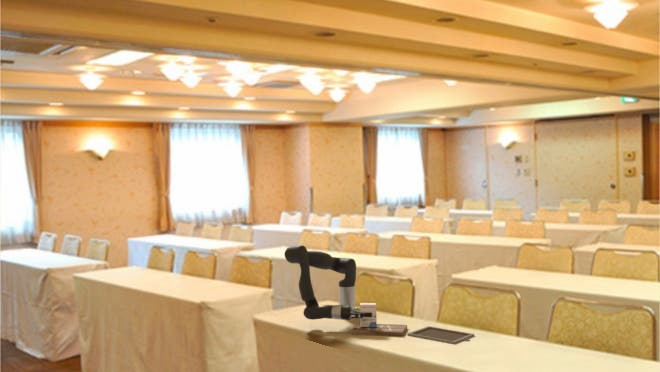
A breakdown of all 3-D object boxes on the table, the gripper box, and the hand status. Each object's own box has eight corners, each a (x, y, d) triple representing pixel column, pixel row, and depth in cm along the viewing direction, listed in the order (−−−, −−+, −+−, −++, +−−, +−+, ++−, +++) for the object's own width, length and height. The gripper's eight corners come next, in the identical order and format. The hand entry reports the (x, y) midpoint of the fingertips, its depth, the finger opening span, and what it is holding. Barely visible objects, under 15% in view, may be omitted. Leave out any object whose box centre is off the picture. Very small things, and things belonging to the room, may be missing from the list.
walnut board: (358, 326, 353) (358, 322, 353) (407, 328, 346) (406, 324, 346) (351, 334, 338) (351, 330, 338) (402, 336, 331) (402, 332, 331)
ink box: (376, 324, 345) (376, 302, 345) (376, 327, 341) (376, 304, 340) (360, 324, 346) (360, 302, 346) (359, 327, 341) (359, 304, 341)
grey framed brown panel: (428, 326, 347) (479, 334, 327) (428, 329, 347) (479, 338, 327) (407, 333, 333) (459, 342, 313) (407, 336, 333) (459, 346, 313)
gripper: (338, 308, 340) (370, 309, 336) (344, 302, 354) (375, 303, 349) (338, 322, 340) (370, 324, 336) (344, 316, 354) (375, 317, 350)
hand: (372, 313), depth 343 cm, fingers closed on ink box, 5 cm apart
